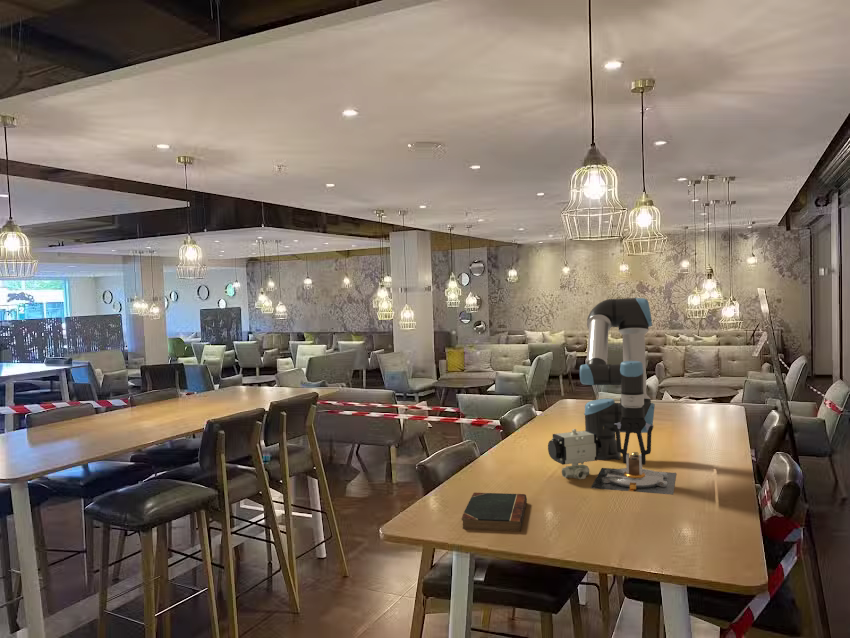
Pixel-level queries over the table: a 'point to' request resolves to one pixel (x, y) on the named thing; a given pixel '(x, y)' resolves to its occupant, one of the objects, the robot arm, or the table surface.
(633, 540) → the table surface
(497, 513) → the book
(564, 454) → the ball valve
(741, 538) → the table surface
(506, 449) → the table surface
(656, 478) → the turntable with brass post
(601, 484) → the base plate
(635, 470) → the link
